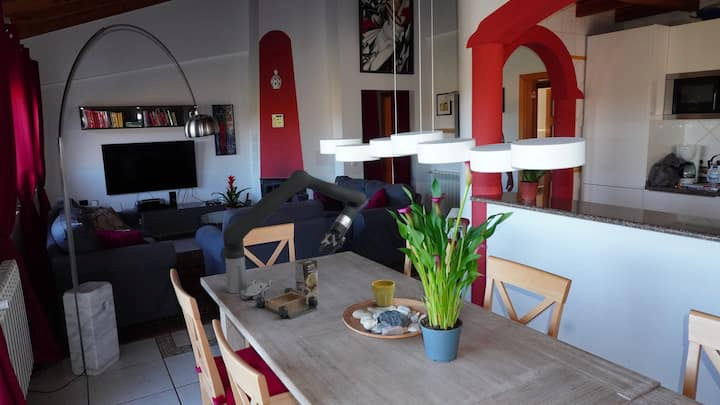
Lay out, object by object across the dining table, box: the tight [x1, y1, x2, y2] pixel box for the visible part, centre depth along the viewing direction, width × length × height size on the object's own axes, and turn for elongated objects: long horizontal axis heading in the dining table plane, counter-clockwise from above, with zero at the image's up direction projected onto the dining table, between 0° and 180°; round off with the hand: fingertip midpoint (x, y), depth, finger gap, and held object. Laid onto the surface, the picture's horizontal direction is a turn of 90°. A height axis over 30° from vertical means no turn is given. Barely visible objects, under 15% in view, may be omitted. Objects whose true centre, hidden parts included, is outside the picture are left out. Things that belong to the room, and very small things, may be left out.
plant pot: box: [371, 279, 396, 308], centre depth 222 cm, size 10×10×10 cm
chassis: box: [255, 286, 319, 320], centre depth 223 cm, size 26×17×5 cm, turn 43°
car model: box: [240, 279, 274, 301], centre depth 244 cm, size 11×24×5 cm, turn 175°
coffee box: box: [294, 258, 319, 299], centre depth 239 cm, size 9×6×16 cm
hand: (324, 252), depth 245 cm, fingers open, 8 cm apart
